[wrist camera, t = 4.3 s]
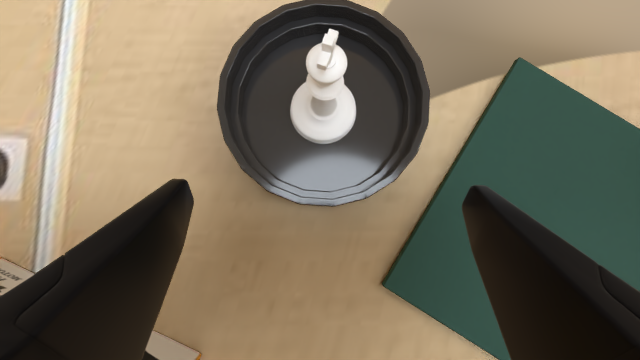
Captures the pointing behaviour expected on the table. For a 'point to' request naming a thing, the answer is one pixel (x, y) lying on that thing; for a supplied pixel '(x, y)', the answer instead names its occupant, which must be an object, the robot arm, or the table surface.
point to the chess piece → (324, 95)
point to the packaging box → (161, 352)
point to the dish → (290, 73)
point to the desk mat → (527, 197)
